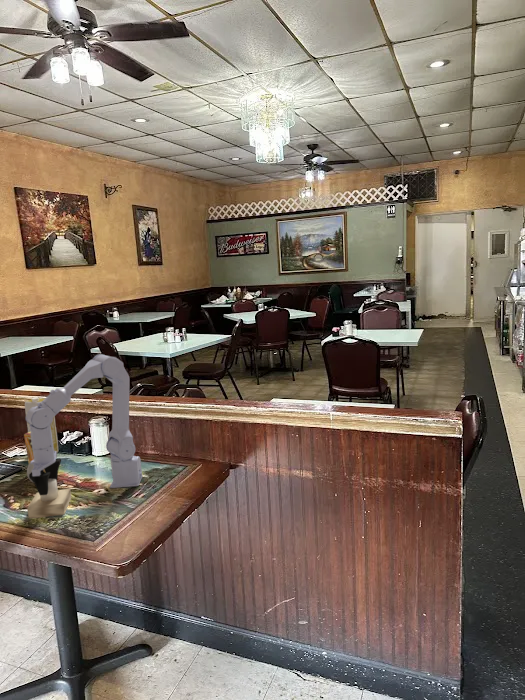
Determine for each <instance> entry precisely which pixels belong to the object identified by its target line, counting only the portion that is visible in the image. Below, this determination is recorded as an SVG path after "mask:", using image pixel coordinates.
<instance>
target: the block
mask: <svg viewBox="0 0 525 700" xmlns="http://www.w3.org/2000/svg"><path fill="white" fill-rule="evenodd" d="M71 498H72V490H71V488H66V489H65V488H64V489H58V497H57V498H56V499H54V500H51V501H41V498H40V494H39V492H38V491H37V492H36V493H35V495H34V497H33V498H32V500H31V501H30V503H29V505H28V506H27V515H28V520H30V519H37V518H45V517H54V516H63V515H65V514H66V511H67V510H68V508H69V506H70V504H69V502H70V503H71V501H72V499H71ZM70 500H71V501H70ZM68 505H69V506H68ZM67 507H68V508H67Z"/></svg>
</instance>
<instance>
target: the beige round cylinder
mask: <svg viewBox="0 0 525 700" xmlns="http://www.w3.org/2000/svg"><path fill="white" fill-rule="evenodd" d="M57 482H58V480H57V481H56V479H49V480H48V494H47V495H40V498H41V501H51V500H54V499H56V498H57V497H58V490H59V489H58V483H57Z"/></svg>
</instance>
